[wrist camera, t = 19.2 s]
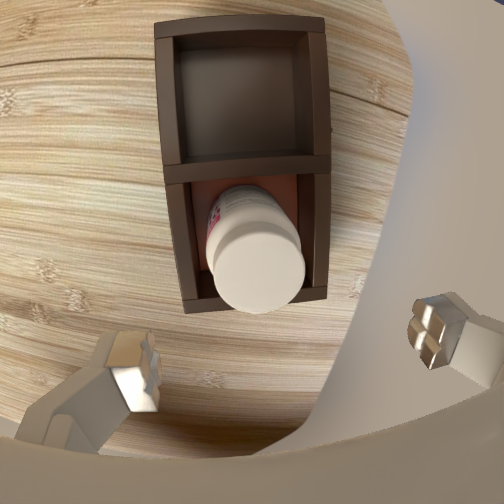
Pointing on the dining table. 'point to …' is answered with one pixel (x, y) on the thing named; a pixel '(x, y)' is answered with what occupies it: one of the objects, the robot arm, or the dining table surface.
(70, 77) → the dining table surface
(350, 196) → the dining table surface
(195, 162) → the holder
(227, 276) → the pill bottle
